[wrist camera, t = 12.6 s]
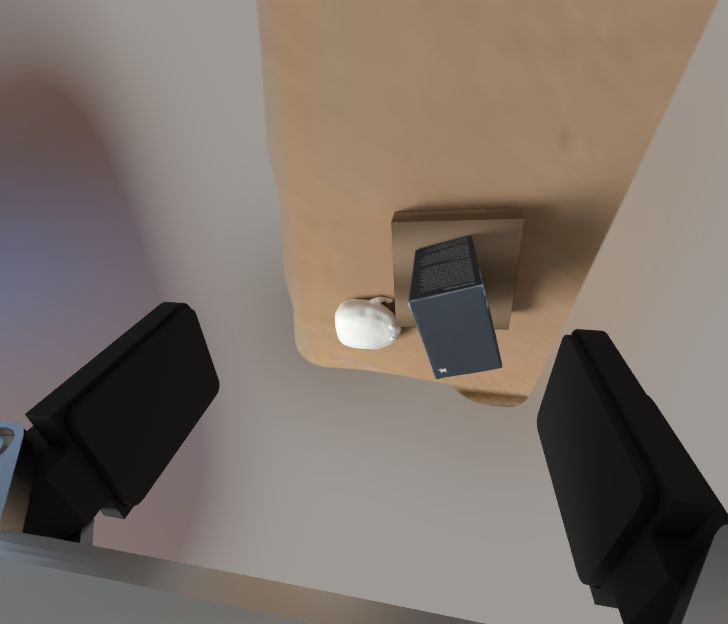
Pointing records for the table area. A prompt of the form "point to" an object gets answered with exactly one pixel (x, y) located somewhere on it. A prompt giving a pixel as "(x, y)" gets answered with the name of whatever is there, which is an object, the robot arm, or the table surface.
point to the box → (453, 309)
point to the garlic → (366, 323)
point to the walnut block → (492, 246)
